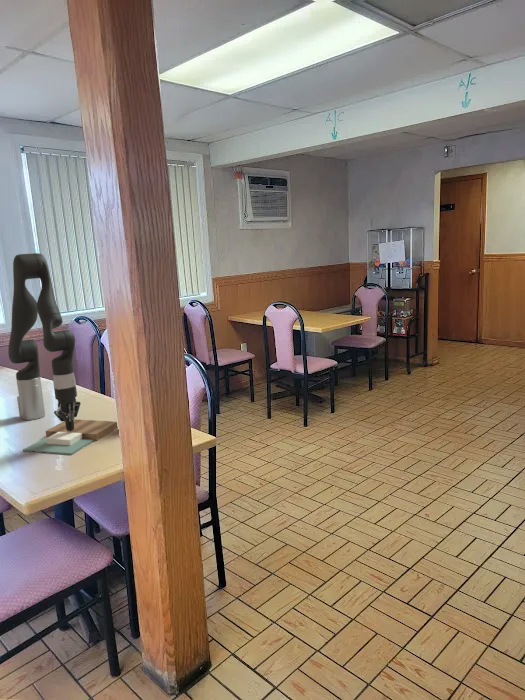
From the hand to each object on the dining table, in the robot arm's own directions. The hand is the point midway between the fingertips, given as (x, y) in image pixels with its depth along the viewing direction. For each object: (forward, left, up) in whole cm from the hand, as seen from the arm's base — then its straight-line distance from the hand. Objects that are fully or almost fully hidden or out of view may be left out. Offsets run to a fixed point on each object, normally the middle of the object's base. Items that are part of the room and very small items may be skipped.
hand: (70, 430), depth 191 cm
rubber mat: (0, -7, -3) cm, 8 cm away
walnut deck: (0, +7, -3) cm, 8 cm away
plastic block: (0, -4, -2) cm, 4 cm away
